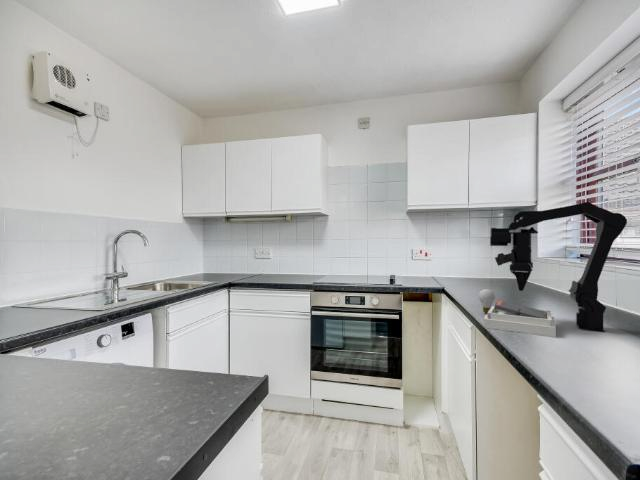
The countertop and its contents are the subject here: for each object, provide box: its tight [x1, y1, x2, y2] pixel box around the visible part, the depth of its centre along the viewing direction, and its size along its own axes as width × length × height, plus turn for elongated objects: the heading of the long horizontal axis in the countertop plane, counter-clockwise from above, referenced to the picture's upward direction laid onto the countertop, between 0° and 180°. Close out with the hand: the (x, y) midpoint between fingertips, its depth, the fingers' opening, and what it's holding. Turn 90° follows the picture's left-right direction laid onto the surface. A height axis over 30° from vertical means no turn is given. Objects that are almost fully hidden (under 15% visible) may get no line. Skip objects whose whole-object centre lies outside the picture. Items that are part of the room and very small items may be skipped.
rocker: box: [494, 299, 545, 319], centre depth 111 cm, size 14×12×1 cm
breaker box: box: [483, 305, 557, 338], centre depth 111 cm, size 20×16×5 cm
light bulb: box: [478, 288, 496, 315], centre depth 130 cm, size 6×6×10 cm
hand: (521, 289), depth 116 cm, fingers open, 9 cm apart
